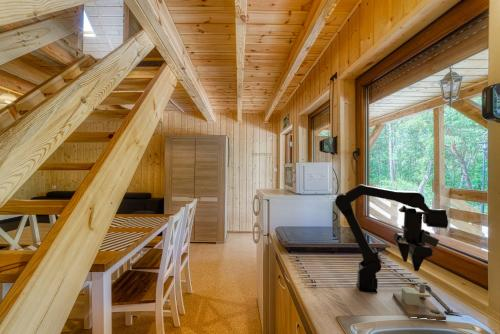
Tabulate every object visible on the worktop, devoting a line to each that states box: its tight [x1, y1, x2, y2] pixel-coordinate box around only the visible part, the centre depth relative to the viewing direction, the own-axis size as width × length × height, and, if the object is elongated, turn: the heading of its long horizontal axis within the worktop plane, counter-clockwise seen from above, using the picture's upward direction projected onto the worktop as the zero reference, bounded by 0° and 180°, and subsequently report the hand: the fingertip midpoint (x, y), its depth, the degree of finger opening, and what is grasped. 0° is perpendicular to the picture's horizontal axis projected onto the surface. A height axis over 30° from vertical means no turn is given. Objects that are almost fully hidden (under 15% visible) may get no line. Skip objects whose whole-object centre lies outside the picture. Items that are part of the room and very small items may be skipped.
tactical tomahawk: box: [425, 284, 463, 317], centre depth 96 cm, size 21×7×1 cm, turn 166°
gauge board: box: [392, 282, 447, 321], centre depth 90 cm, size 11×14×6 cm
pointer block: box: [401, 287, 431, 306], centre depth 91 cm, size 8×4×4 cm, turn 80°
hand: (410, 266), depth 98 cm, fingers open, 9 cm apart
